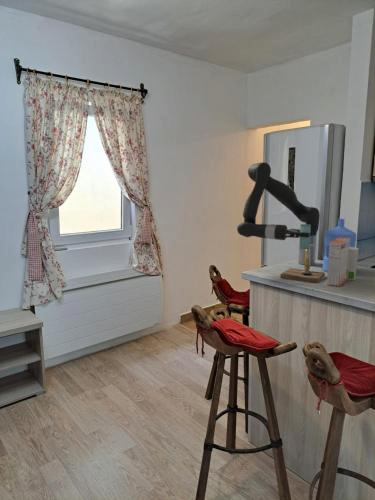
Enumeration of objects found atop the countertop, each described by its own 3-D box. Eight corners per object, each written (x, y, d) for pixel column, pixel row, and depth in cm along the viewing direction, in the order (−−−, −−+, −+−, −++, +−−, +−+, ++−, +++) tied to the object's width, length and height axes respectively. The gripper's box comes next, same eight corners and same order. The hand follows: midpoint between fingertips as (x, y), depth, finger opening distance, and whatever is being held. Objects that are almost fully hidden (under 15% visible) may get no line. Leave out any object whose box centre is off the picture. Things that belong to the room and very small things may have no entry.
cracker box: (335, 278, 180) (338, 237, 176) (348, 280, 176) (351, 238, 172) (326, 284, 169) (329, 240, 165) (339, 287, 165) (342, 242, 161)
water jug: (347, 267, 202) (351, 217, 197) (357, 274, 187) (362, 220, 182) (319, 267, 204) (322, 217, 199) (326, 273, 189) (330, 220, 184)
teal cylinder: (300, 247, 178) (302, 224, 176) (310, 248, 175) (311, 224, 173) (298, 248, 174) (299, 225, 172) (307, 249, 172) (309, 225, 169)
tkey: (312, 269, 187) (313, 243, 184) (311, 274, 177) (313, 246, 175) (302, 269, 189) (303, 242, 186) (300, 273, 179) (302, 246, 177)
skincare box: (336, 278, 179) (339, 247, 176) (338, 275, 185) (340, 245, 182) (355, 280, 176) (358, 249, 173) (356, 277, 181) (358, 247, 178)
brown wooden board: (289, 271, 194) (290, 268, 193) (324, 276, 184) (324, 272, 183) (280, 278, 181) (280, 273, 181) (317, 283, 171) (317, 278, 171)
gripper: (271, 226, 175) (307, 228, 165) (281, 223, 186) (315, 225, 177) (270, 241, 176) (306, 244, 167) (280, 237, 188) (314, 240, 179)
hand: (310, 234), depth 172 cm, fingers closed on teal cylinder, 4 cm apart
